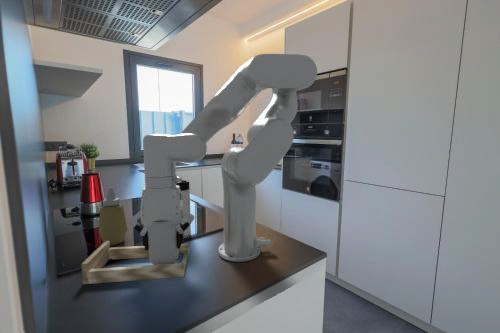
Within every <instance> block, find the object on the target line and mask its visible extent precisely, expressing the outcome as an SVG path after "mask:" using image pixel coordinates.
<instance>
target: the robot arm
mask: <svg viewBox="0 0 500 333" xmlns="http://www.w3.org/2000/svg"><path fill="white" fill-rule="evenodd" d="M315 62H316V61H314V60H313V58H311V57H310V56H308V55H304V54H298V53H297V54H296V53H295V54H294V53H287V54H286V53H260V54H257V55H256V54H255V55H254V56H253V57H251V58H250V59H249V60H247V61H246V62H245V63H244V64H242V65H241V66H240V67H239V68H238V69H237V70H236V71H235V73H234V74H233V75H232V76H231V77H230V78H229V79H228V80H227V81H226V83H225V84H224V85H223V86H222V87H221V88H220V89H219V90H218V91H217V93H215V95H214V96H212V98H211V99H210V100H209V101H208V102H207V103H206V105H205V106H204V107H203V109H201V111H200V112H199V113H198V114H197V115H195V117H194V118H193V119H192V120H191V121H190V122H189V123H188V125H186V126H185V128H184V129H183V130H182V131H181V132H180V134H175V135H174V134H173V135H172V134H168V133H167V134H166V133H149V134H146V135H144V136H143V139H142V147H143V150H142V151H143V167H144V168H143V169H144V170H143V171H144V187H143V188H142V192H141V201H140V211H139V212H137V213H135V215H133V216H132V217H131V218H130V219H129V220H128V223H129V224H130V225H131V226H132V227H133V228H134V230H135V231H136V232H138V233H139V234H140V236H141V237H142V240H141V241H142V246H145V250H148V249H149V246H148V226H150V225H152V222H166V221H170V222H169V223H170V224H172V225H176V229H177V231H178V233H177V248H180V247H181V244H184V243H185V242H184V240H185V239H184V237H183V232H184V231H185V230H186V229H187V228H188V227H189V225H190V224H192V223H193V221H194V220H195V215H194V214H192V213H191V212H190V213H189V212H188V211H186V210H185V209H183V204H182V196H181V191H180V187H179V186H178V185H176V184H177V183H179V182H182V180H183V178H182V177H179V176H177V172H176V169H177V167H176V163H177V162H178V163H190V164H193V163H197V162H200V161H202V159H204V157H205V156H206V154H207V151H208V146H207V143H208V142H209V141H210V140H211V139H212V138H213V137H214V136H215V135H216V134H217V133H219V132H220V131H221V130H223V129H224V128H226V127H228V126H229V125H232V123H233V122H235V121H236V120H237V119H238V118H239V116H241V114H242V113H244V111H245V110H246V108H247V107H248V106H249V105H250V104H251V103H252V101H254V100H255V99H256V97H257V96H258V95H259V94H260V93H261V92H263V91H264V90H267V89H271V93H272V97H271V101H270V103H269V104H268V106H267V107H266V108H265V109H264V110H263V112H262V113H261V114H260V115H259V117H258V118H257V119H256V120H255V121H253V123H252V125H251V126H250V127H249V129H248V131H247V132H246V134H247V135H246V140H247V143H248V144H247V145H246V147H244V146H234V147H232V148H229V149H228V150H227V151H226V152H225V153H224V155H223V156H222V159H221V163H220V164H221V166H220V168H221V170H220V171H221V178H222V189H223V190H222V191H223V195H222V196H223V198H222V199H223V242H222V243H221V244H220V245H219V246H218V255H219V256H220V257H221V258H222V259H224V260H225V261H229V262H235V263H240V262H241V263H243V262H249V261H252V260H254V259H256V258H258V257H259V255H260V254H261V248H262V247H271V246H272V240H271V239H266V237H265V236H264V237H263V236H261V237H258V236H257V235H256V226H257V225H256V223H257V222H256V221H257V220H256V216H257V213H256V209H257V208H256V206H257V205H256V204H257V192H256V185H259V184H261V183H262V182H264V181H265V180H266V179H267V178H268V177H269V175H270V174H271V173H272V172H273V171H274V169H275V168H276V167H277V166H278V164H279V163H280V161H281V160H282V159H283V158H284V156H286V154H287V153H288V151H289V150H290V148H291V146H292V144H293V140H294V128H293V126H292V125H291V123H292V122H293V120H294V119H295V118H296V115H297V113H298V104H299V103H298V95H297V92H298V91H302V90H305V89H307V88H309V87H311V86H312V85H313V84H314V82H315V81H316V79H317V75H318V68H317V67H318V66H317V65H316V63H315ZM183 216H184V217H186V218H187V219H188V220H187V221H186V222H185V223H184V224H182V223H181V219H183ZM139 219H140V222H139V221H138V220H139Z"/></svg>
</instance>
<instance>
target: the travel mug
mask: <svg viewBox="0 0 500 333" xmlns="http://www.w3.org/2000/svg"><path fill="white" fill-rule="evenodd" d="M176 185H178V186H179V187H180V191H181V196H182V204H183V209H185V210H186V211H188V212H189V213H191V192H190V181H187V180H183V179H182V182H179V183H177V184H176ZM187 220H188V219H187V218H186V217H184V216H183V219H181V223H182V224H184V223H185V222H186V221H187ZM191 224H192V223H191ZM191 224H190V225H189V227H188V228H187V229H186V230H185V231H184V232H183V237H184V238H186V239H188V238H190V237H191V235H192V230H191ZM189 236H190V237H189ZM187 237H188V238H187Z"/></svg>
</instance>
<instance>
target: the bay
mask: <svg viewBox="0 0 500 333" xmlns="http://www.w3.org/2000/svg"><path fill="white" fill-rule="evenodd" d="M189 246H190V244H189V243H183V244H181V247H180V248H178V249H179V256H183V257H182V260H181V263H179V262H177V263H172V264H160V265H153V264H150V265H148V264H146V265H132V266H129V265H128V266H117V267H105V265H106V264H108V261H110V260H109V259H112V260H127V259H139V258H140V259H141V258H142V259H143V258H144V259H145V258H149V249H148V250H145V246H143V245H135V246H133V245H131V246H117V247H116V246H115V247H111V245H110V241H105V242H104V243H103V242H102V243H101V244H100V246H98V247H97V248H96V249H95V250H94V251H93V252H92V253H91V254H90V255H89V256H88V257H87V258H86V259H85V260H84V261H83V262H82V263H81V264H80V266H81V275H82V276H81V278H82V284H83V285H90V284H91V285H92V284H103V283H104V284H105V283H117V282H118V283H119V282H130V281H132V282H133V281H144V280H156V279H157V280H159V279H171V278H184V277H185V274H186V268H187V265H188V264H187V263H188V260H189V254H190V247H189Z"/></svg>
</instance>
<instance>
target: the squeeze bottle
mask: <svg viewBox="0 0 500 333" xmlns="http://www.w3.org/2000/svg"><path fill="white" fill-rule="evenodd" d="M120 199H121V198H120V197H117V196H116V193H115V191H114V187H108V189H107V196H106V198H104V199H103V200H102V206H101V207H100V209H99V222H98V223H99V224H98V225H99V228H98V234H99V237H100V239H101V241H102V244H103V243H104V242H105V241H110V246H115V245H119V244H122V243H123V242H124V241H125V238H126V236H127V232H128V225H127V219H126V214H125V213H126V212H125V208H124V205H123V204H122V203H121V200H120Z"/></svg>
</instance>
